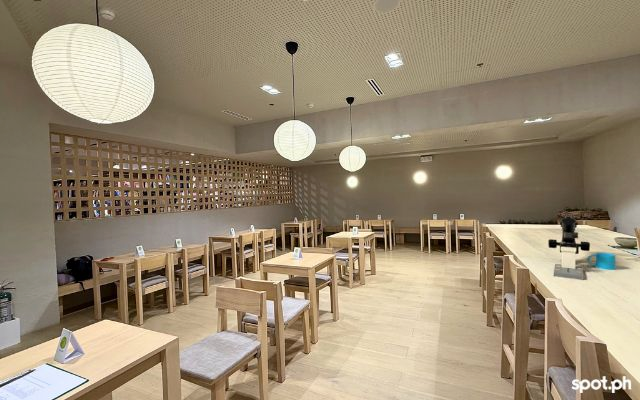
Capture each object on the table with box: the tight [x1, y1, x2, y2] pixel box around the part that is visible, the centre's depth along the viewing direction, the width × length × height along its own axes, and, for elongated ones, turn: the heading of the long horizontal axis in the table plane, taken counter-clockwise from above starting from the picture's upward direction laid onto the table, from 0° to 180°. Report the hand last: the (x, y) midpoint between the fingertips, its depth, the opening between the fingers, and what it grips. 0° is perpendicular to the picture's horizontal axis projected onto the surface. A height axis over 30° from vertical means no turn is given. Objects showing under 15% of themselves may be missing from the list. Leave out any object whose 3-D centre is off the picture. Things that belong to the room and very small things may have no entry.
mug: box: [587, 252, 616, 271], centre depth 172 cm, size 12×8×8 cm
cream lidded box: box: [561, 247, 576, 269], centre depth 167 cm, size 4×7×11 cm, turn 49°
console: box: [553, 263, 584, 281], centre depth 163 cm, size 22×12×2 cm, turn 139°
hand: (568, 256), depth 169 cm, fingers closed
